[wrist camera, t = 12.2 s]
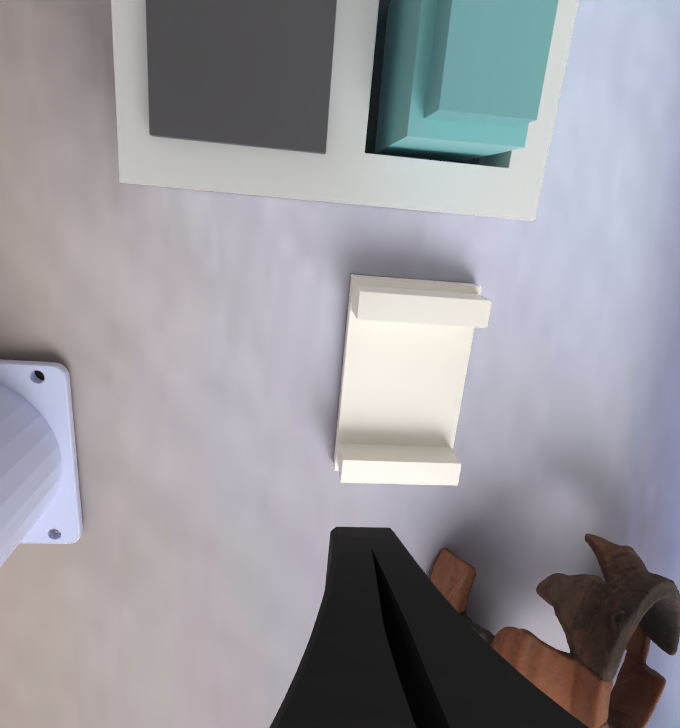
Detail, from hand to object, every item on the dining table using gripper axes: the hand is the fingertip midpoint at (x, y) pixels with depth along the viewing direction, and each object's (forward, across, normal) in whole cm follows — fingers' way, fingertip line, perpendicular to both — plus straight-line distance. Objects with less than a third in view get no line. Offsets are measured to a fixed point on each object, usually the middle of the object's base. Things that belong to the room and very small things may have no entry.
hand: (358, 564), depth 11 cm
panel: (+10, 0, -12) cm, 16 cm away
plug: (+10, -2, -12) cm, 16 cm away
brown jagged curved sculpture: (+10, -10, +10) cm, 18 cm away
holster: (+10, -3, -1) cm, 10 cm away
